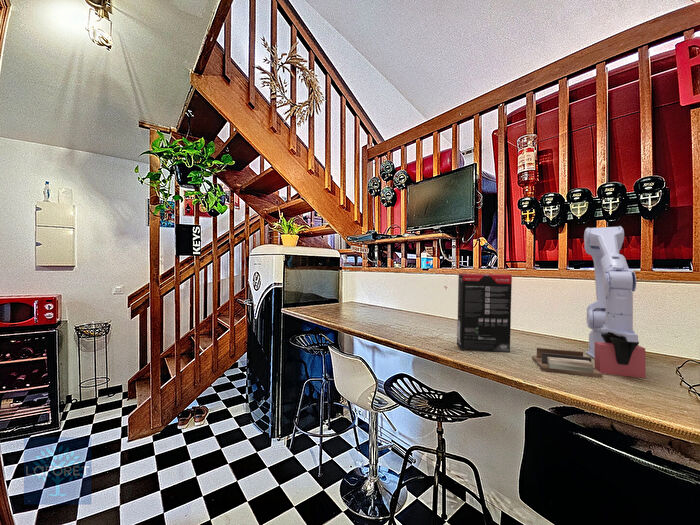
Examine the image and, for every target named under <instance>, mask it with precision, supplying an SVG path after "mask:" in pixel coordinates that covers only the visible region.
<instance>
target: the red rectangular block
mask: <svg viewBox="0 0 700 525" xmlns="http://www.w3.org/2000/svg"><path fill="white" fill-rule="evenodd" d="M594 368H595V369H596V370H598V371H599V372H600V373H602V374H603V375H604V374H605V375H614V376H624V377H632V378H640V377H642V379H646V348H645V347H643V346H641V345H639V344H638V345H637V346H636V348H635V349H634V351H633V353H632V355H631V358H630V361H629V364H628V365H624V364H618V363H617V360H616V353H615V348H614V345H613V343H604V342H595V359H594Z"/></svg>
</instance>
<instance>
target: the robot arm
mask: <svg viewBox="0 0 700 525" xmlns="http://www.w3.org/2000/svg"><path fill="white" fill-rule="evenodd" d="M624 240H625V230H624V228H623V227H622V226H621V225H618V226H607V227H603V226H602V227H586V228H585V230H584V234H583V241H584V242H583V244H584V250H585V254H587V255H590V256H591V258H592V261H593V269H594V282H595V295H596V300H595V301H593V302H591V303H590V304H588V306H587V308H586V325H587V328H588V329H590V330H591V331H590V332H589V334H588V350H587V351H585V354H587V355H588V356H590V357H591V358H593V359H594V360H595V342H604V343H613V345H614V348H615V353H616V360H617V363H618V364H624V365H628V364H629V361H630V358H631V355H632V353H633V351H634V349H635V348H636V346H637V345H639V344H640V341H639V335H638V334H636V333H635V330H634V317H633V316H634V300H633V299H634V298H633V297H634V292H635V291H636V289H637V276H636V272H635V270H632V269H631V268H629V265H628V263H627V259H626V257H625V256H624V255H623V254H621V253H620V250H622V246H623V243H624Z"/></svg>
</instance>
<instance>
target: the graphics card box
mask: <svg viewBox="0 0 700 525" xmlns="http://www.w3.org/2000/svg"><path fill="white" fill-rule="evenodd" d="M512 282H513V276H512V274H509V273H507V274H503V273H501V274H500V273H458V286H457V287H458V288H457V292H458V293H457V324H456V325H457V331H456V345H457V346H458V347H459V349H461V350H462V351H463V350H467V351H480V352H481V351H484V352H487V351H488V352H502V353H510V352H511V331H512V330H511V328H512V327H511V321H512V320H511V319H512V318H511V317H512V316H511V315H512V313H511V312H512Z"/></svg>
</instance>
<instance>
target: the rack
mask: <svg viewBox="0 0 700 525" xmlns="http://www.w3.org/2000/svg"><path fill="white" fill-rule="evenodd" d="M531 357H532V358H531V359H532V361H533V362H534V361H535V362H536V363H537V364H536V363H535V362H534V363H535V364H536V365H537V366H539V367H540V368H539V367H538V368H539V369H540V370H541V371H542V372H546V373H555V374H563V375H574V376H575V375H576V376H580V377H581V376H582V377H583V376H584V377H591V378H593V377H594V378H601V379H602V378H604V376H603V375H604V374H603V373H600V372H599V371H598V370H596V369H595V366H594V364H593V362H592V356H590V357H589V356H584V352H583V351H578V350H577V351H576V350H567V349H566V350H565V349H555V348H553V349H552V348H544V347H536V355H531Z"/></svg>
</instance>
